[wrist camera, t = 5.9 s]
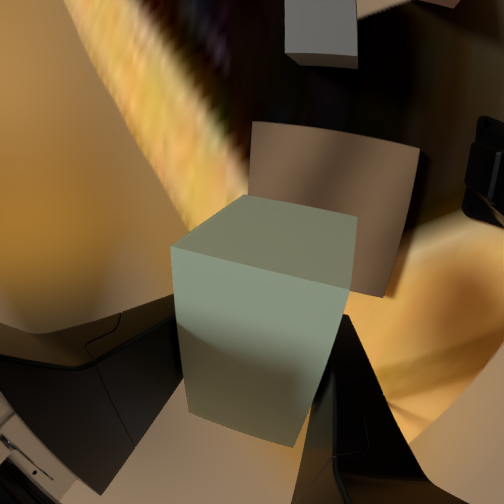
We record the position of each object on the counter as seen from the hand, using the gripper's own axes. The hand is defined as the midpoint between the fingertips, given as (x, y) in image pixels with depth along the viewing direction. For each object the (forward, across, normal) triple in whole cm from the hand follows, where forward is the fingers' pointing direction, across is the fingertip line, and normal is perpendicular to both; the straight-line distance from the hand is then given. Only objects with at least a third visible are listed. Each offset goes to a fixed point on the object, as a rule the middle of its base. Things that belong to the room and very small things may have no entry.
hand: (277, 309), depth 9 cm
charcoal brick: (+12, +1, -12) cm, 17 cm away
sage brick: (+1, 0, 0) cm, 1 cm away
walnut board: (+12, 0, 0) cm, 12 cm away
